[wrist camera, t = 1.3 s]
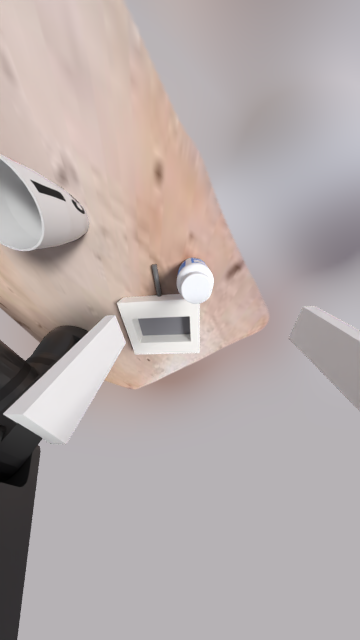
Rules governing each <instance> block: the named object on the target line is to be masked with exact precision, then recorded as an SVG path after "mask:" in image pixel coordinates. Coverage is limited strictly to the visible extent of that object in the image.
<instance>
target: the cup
mask: <svg viewBox="0 0 360 640" xmlns="http://www.w3.org/2000/svg"><path fill="white" fill-rule="evenodd" d="M88 228H89V219H88V215H87V213H86V211H85V209H84V207H83V206H82V205H81V204H80V203H79V202H78V201H77V200H76V199H75V198H74V197H72V196H71V195H70V194H69V193H68V192H67V191H66V190H64V189H63V188H61V187H60V186H58V185H56V184H55V183H53V182H52V181H50V180H49V179H47V178H45V177H44V176H42V175H41V174H39V173H37V172H36V171H34V170H32V169H30V168H28V167H26V166H24V165H22V164H20V163H18V162H16V161H14V160H12V159H10V158H8V157H6V156H4V155H2V154H0V243H1V244H2V245H4V246H6V247H9V248H11V249H14V250H18V251H31V250H37V249H43V248H49V247H55V246H60V245H63V244H66V243H68V242H71V241H74V240H77V239H78V238H80V237H81V236H82V235H84V234H85V233H86V232H87V231H88Z"/></svg>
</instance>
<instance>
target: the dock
mask: <svg viewBox="0 0 360 640" xmlns="http://www.w3.org/2000/svg"><path fill="white" fill-rule="evenodd" d="M152 270H153V275H154V281H155V286H156V292H157V295H152V296H135V297H123V298H122V299H121V300H120V301H119V302H117V305H118V308H119V311H120V314H121V316H122V319H123V322H124V325H125V327H126V330H127V333H128V336H129V339H130V341H131V344H132V347H133V350H134V352H135V354H178V353H200V303H199V304H192V303H189V302H188V301H186V300H185V299H184V298H183V296H182V295H181V294H168V295H162V294H161V288H160V282H159V276H158V270H157V264H153V265H152Z"/></svg>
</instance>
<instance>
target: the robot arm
mask: <svg viewBox="0 0 360 640" xmlns="http://www.w3.org/2000/svg"><path fill="white" fill-rule="evenodd" d="M289 340H291V342H292V343H293V344H294V345H295V346H296V347H297V348H298V349H299V350H300V351H301V352H302V353H303V354H304V355H305V356H306V357H307V358H308V359H309V360H310V361H311V362H312V363H313V364H314V365H315V366H316V367H317V368H318V369H319V370H320V371H321V372H322V373H323V374H324V375H325V376H326V377H327V378H328V379H329V380H330V381H331V382H332V383H333V384H334V385H335V386H336V387H337V389H339V390H340V392H341V393H342V394H344V396H345V397H346V398H347V399H348V400H349V401H350V402H351V403H352V404H353V405H354V406H355V407H356V408H357V409H358V410H359V411H360V330H358V329H356V328H355V327H353V326H351V325H349V324H347V323H345V322H344V321H342V320H340V319H338V318H336V317H334V316H332V315H330V314H329V313H327V312H325V311H323V310H322V309H320V308H318V307H316V306H304V307H302V309H301V312H300V314H299V316H298V318H297V321H296V323H295V325H294V328H293V330H292V332H291V334H290V336H289ZM125 344H126V342H125V339H124V336H123V334H122V331H121V329H120V326H119V323H118V321H117V318H116V316H115V315H108V316H105V317H104V318H103V319H102V320H101V321H100V322H98V323H97V324H96V325H95V326H94V327H93V328H92V329H91V330H90V331H89V332H88V331H86V330H83V329H81V328H78V327H73V326H60V327H57V328H55V329H54V330H52V331H51V332H49V333H48V334H47V335H46V336H45V337H44V338H43V340H42V341H41V343H40V344H39V345H38V347H37V348H36V350H35V351H34V353H33V354H32V355H31V357H29V358H28V359H27V360H26V361H24V360H23V359H22V358H21V357H19V355H17V354H16V353H15V352H14V351H13V350H11V349H10V348H9V347H8V346H7V345H6V344H4V343H3V342H2V341H1V340H0V640H17V636H18V628H19V620H20V611H21V604H22V594H23V587H24V580H25V572H26V562H27V554H28V547H29V539H30V531H31V523H32V515H33V507H34V498H35V491H36V482H37V474H38V466H39V458H40V446H38V444H39V442H40V441H41V440H42V439H44V440H46V441H48V442H49V443H50V444H67V443H68V441H69V439H70V437H71V436H72V434H73V432H74V431H75V429H76V427H77V425H78V424H79V422H80V420H81V419H82V417H83V415H84V414H85V412H86V410H87V408H88V407H89V405H90V403H91V402H92V400H93V398H94V397H95V395H96V393H97V391H98V390H99V388H100V386H101V385H102V383H103V381H104V380H105V378H106V376H107V374H108V373H109V371H110V369H111V368H112V366H113V364H114V363H115V361H116V359H117V357H118V356H119V354H120V352H121V351H122V349H123V347H124V345H125Z"/></svg>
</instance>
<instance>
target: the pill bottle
mask: <svg viewBox="0 0 360 640" xmlns="http://www.w3.org/2000/svg"><path fill="white" fill-rule="evenodd" d="M213 283H214V279H213V275H212V273H211V271H210V269H209V268H208V267H207V265H206V264H205V263H204V262H203V261H202V260H201V259H199V258H188V259H186V260H185V261H184V262H183V263H182V264H181V265H180V267H179V271H178V275H177V289H178V291H179V293H180V294H181V295H182V296H183V298H184V299H185V300H186V301H188V302H189V303H192V304H199V303H202V302H204V301H206V300H207V299H208V298H209V297H210V295H211V293H212V288H213Z"/></svg>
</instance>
